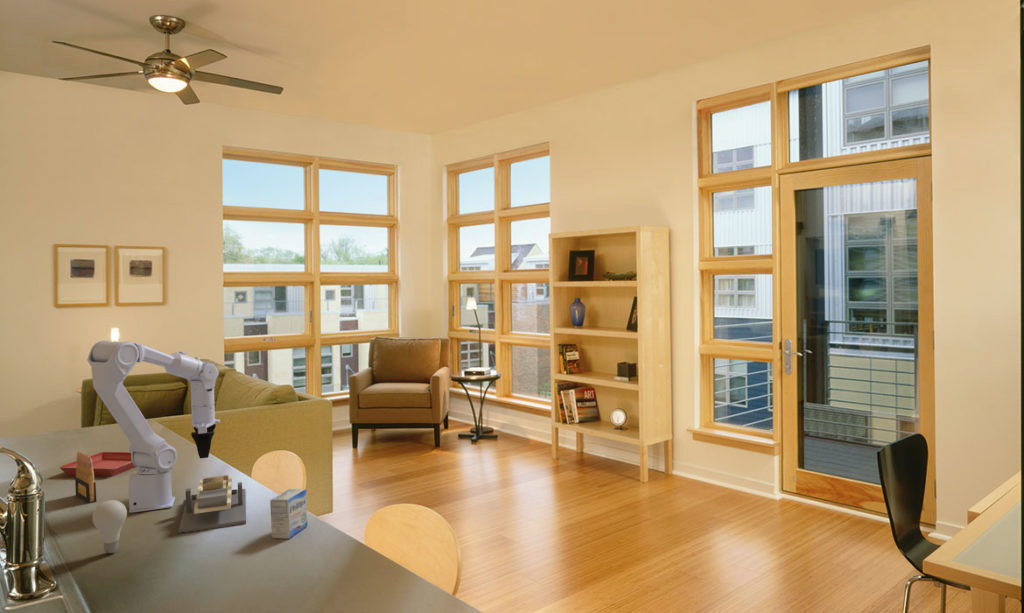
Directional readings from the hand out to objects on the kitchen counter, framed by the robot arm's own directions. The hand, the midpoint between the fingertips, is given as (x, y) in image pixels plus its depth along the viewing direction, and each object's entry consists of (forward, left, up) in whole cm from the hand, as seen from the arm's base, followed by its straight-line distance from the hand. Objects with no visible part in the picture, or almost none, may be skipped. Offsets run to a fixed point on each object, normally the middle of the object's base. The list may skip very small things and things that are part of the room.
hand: (204, 454), depth 178 cm
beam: (+3, -21, -5) cm, 22 cm away
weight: (+3, -24, -5) cm, 24 cm away
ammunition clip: (-29, +5, -10) cm, 31 cm away
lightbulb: (-16, -40, -10) cm, 44 cm away
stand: (+3, -21, -9) cm, 23 cm away
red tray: (-29, +36, -10) cm, 47 cm away
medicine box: (+19, -44, -10) cm, 49 cm away
